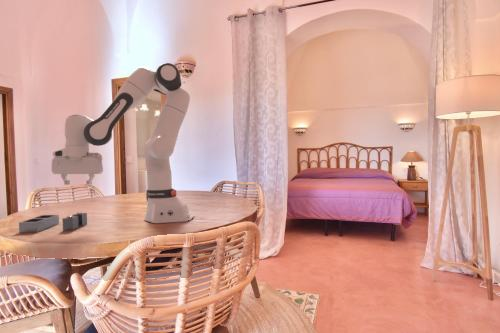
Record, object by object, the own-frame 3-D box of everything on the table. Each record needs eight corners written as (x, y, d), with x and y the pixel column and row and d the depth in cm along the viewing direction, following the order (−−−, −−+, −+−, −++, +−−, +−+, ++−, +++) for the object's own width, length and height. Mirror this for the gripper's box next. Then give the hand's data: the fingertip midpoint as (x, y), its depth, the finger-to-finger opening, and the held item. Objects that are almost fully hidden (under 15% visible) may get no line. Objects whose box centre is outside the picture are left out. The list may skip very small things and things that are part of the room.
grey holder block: (42, 223, 129) (42, 214, 129) (59, 223, 130) (58, 214, 129) (19, 232, 115) (18, 222, 115) (37, 232, 116) (37, 222, 115)
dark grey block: (78, 228, 122) (77, 214, 121) (73, 230, 118) (72, 217, 117) (68, 228, 121) (68, 215, 121) (62, 230, 117) (62, 217, 117)
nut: (87, 224, 129) (86, 211, 128) (82, 226, 125) (81, 213, 124) (77, 224, 128) (77, 211, 128) (72, 226, 124) (72, 213, 124)
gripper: (105, 152, 129) (105, 183, 129) (58, 152, 128) (59, 183, 129) (98, 152, 122) (98, 185, 123) (48, 152, 122) (49, 185, 122)
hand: (78, 184), depth 126 cm, fingers open, 8 cm apart
